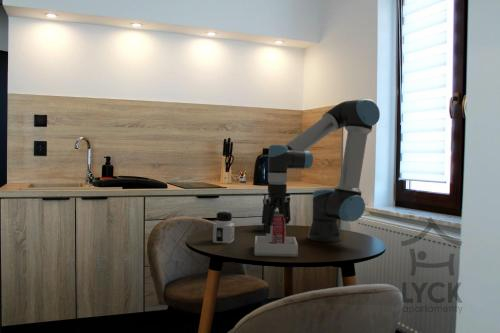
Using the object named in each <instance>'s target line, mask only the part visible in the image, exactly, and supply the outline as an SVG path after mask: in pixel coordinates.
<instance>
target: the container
mask: <svg viewBox="0 0 500 333" xmlns="http://www.w3.org/2000/svg"><path fill="white" fill-rule="evenodd" d="M232 217H233V216H232V213H231V212H229V211H219V212H217V213H216V223H215V224H213V226H212V228H213V229H212V243H215V244H231V243H232V242H234V241H235V223H234V222H232Z"/></svg>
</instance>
